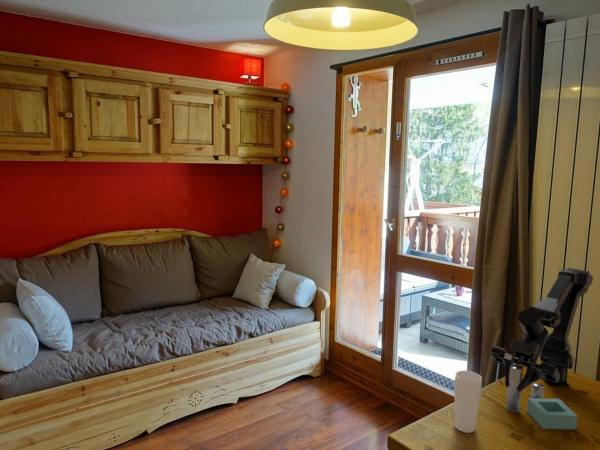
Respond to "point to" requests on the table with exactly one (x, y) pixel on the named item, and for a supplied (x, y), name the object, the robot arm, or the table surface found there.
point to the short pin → (537, 391)
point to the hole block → (552, 413)
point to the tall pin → (514, 389)
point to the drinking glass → (467, 400)
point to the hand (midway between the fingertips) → (512, 388)
